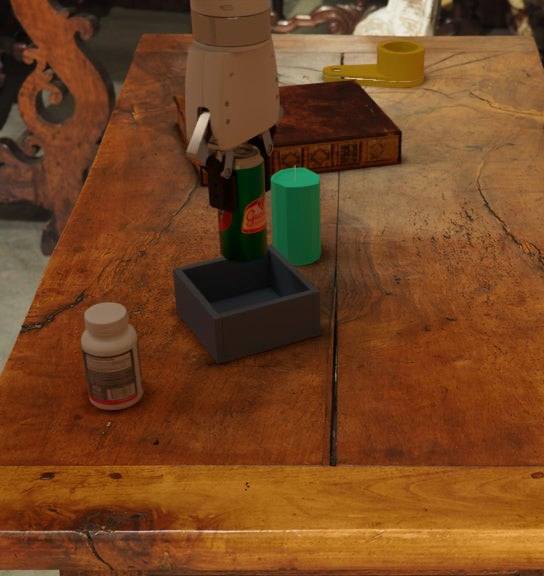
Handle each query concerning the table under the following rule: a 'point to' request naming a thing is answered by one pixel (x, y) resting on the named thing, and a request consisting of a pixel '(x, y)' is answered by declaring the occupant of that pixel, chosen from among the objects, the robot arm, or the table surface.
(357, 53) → the table surface
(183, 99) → the book
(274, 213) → the candle
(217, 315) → the bin
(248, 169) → the soda can
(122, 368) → the pill bottle
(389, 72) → the crank
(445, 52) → the table surface
